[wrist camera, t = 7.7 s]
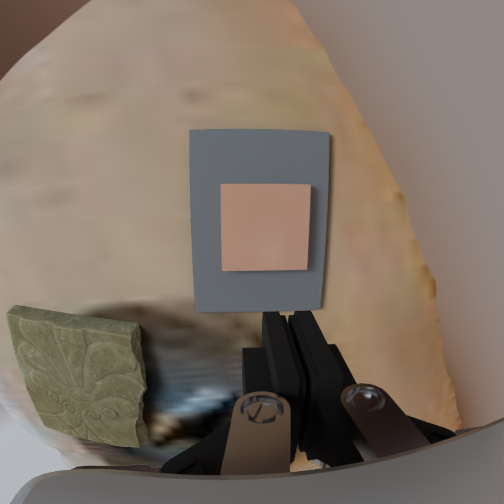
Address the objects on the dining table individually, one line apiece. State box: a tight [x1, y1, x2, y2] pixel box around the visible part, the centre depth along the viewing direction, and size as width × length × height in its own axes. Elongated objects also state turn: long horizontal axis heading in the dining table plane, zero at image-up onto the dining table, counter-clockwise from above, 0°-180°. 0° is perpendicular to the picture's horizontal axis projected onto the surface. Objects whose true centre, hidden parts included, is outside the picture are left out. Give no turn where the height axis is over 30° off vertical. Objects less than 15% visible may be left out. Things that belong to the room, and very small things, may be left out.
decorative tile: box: [6, 305, 149, 447], centre depth 35 cm, size 19×20×4 cm
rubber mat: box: [190, 129, 329, 312], centre depth 31 cm, size 18×13×1 cm
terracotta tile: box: [221, 183, 311, 271], centre depth 30 cm, size 8×2×8 cm
